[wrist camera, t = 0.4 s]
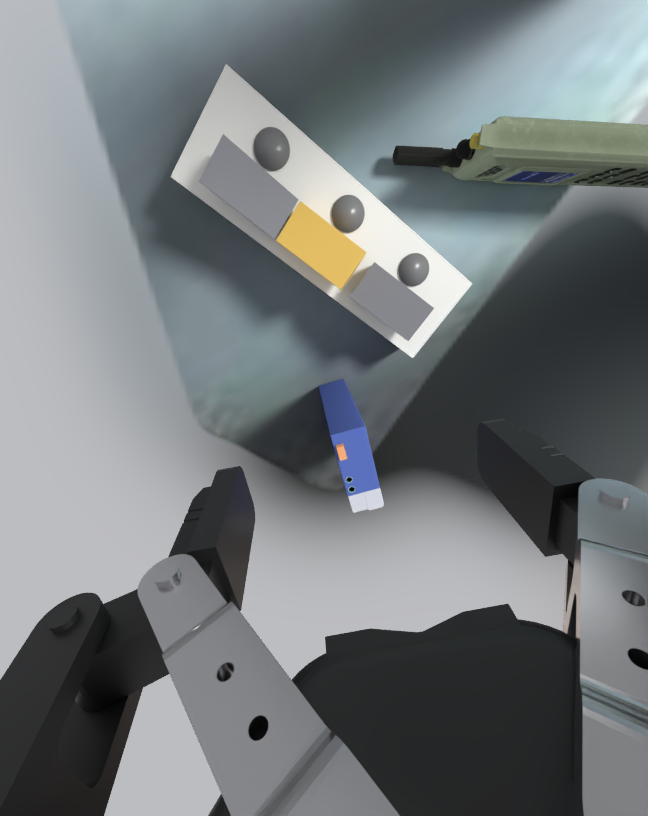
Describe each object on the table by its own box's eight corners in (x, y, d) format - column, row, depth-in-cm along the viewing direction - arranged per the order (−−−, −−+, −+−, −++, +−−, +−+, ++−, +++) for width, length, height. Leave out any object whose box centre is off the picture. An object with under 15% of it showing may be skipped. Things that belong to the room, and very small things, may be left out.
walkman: (318, 385, 37) (330, 438, 26) (343, 378, 37) (366, 428, 26) (335, 448, 40) (353, 518, 29) (359, 441, 40) (386, 510, 29)
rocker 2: (373, 264, 29) (374, 261, 27) (429, 308, 29) (434, 308, 28) (350, 297, 30) (349, 296, 28) (405, 339, 30) (408, 341, 29)
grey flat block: (222, 138, 24) (223, 133, 22) (294, 200, 27) (298, 199, 25) (199, 182, 25) (198, 180, 23) (271, 237, 28) (274, 239, 26)
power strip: (234, 91, 27) (225, 62, 23) (452, 281, 34) (473, 283, 30) (185, 187, 29) (169, 176, 25) (400, 348, 36) (413, 358, 32)
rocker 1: (303, 207, 27) (300, 200, 25) (365, 255, 27) (366, 252, 26) (280, 244, 28) (276, 240, 26) (341, 290, 28) (340, 289, 27)
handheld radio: (649, 194, 33) (388, 184, 31) (661, 152, 32) (391, 138, 29) (733, 174, 27) (413, 159, 24) (752, 121, 25) (418, 100, 23)
